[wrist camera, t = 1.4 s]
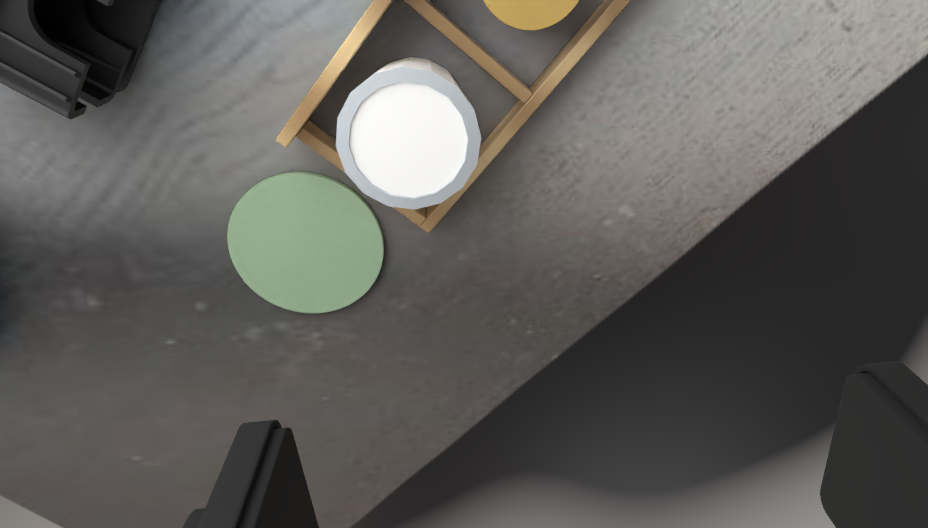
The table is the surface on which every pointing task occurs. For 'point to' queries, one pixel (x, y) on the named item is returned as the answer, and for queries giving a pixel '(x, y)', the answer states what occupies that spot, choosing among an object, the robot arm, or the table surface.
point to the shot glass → (408, 135)
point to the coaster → (305, 242)
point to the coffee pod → (530, 12)
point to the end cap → (71, 49)
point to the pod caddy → (527, 96)
